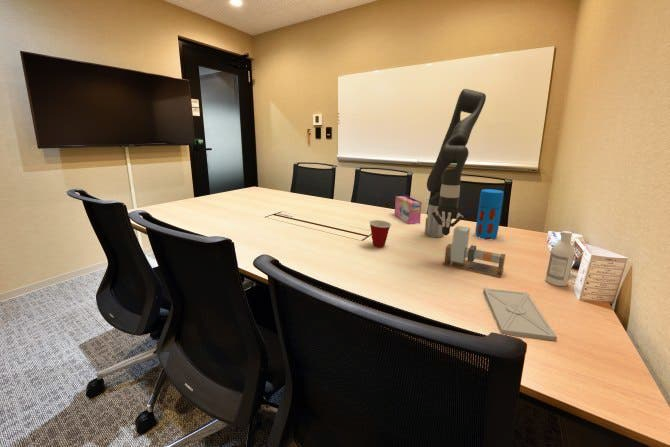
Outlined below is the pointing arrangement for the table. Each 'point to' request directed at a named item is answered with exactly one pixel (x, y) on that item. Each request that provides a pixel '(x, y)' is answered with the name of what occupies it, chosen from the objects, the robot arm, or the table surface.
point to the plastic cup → (379, 232)
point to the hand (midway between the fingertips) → (445, 234)
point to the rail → (476, 266)
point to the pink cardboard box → (408, 209)
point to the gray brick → (471, 253)
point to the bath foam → (561, 261)
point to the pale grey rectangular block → (459, 243)
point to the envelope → (517, 314)
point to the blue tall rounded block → (489, 213)
